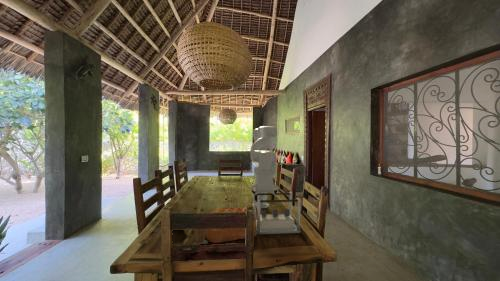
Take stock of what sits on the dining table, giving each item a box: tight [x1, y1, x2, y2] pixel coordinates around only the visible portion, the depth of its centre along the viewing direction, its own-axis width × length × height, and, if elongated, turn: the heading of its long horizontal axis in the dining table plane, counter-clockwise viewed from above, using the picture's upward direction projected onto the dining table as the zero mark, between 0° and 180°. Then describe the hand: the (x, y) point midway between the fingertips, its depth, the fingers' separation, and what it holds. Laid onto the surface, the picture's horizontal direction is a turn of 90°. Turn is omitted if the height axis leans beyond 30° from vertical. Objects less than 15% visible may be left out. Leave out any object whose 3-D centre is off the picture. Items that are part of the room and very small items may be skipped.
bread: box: [205, 206, 258, 244], centre depth 123 cm, size 14×26×16 cm, turn 109°
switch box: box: [260, 213, 295, 230], centre depth 136 cm, size 10×20×6 cm, turn 97°
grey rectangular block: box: [260, 209, 268, 217], centre depth 135 cm, size 2×3×4 cm, turn 97°
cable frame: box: [252, 191, 301, 235], centre depth 135 cm, size 17×25×19 cm
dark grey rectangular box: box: [272, 209, 279, 217], centre depth 136 cm, size 2×3×4 cm, turn 97°
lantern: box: [181, 210, 209, 245], centre depth 122 cm, size 8×17×30 cm
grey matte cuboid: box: [283, 208, 289, 216], centre depth 137 cm, size 2×3×4 cm, turn 97°
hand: (264, 201), depth 134 cm, fingers open, 9 cm apart
